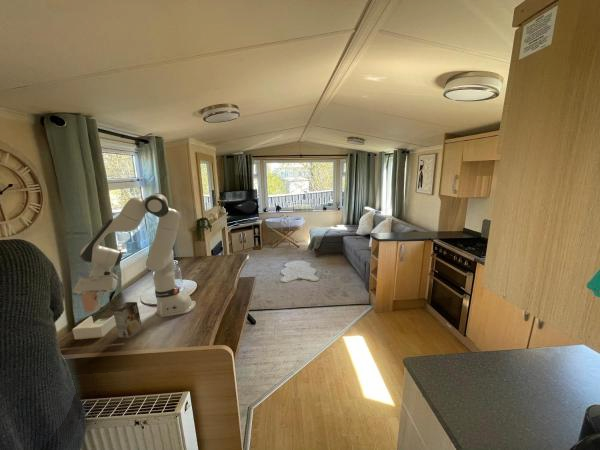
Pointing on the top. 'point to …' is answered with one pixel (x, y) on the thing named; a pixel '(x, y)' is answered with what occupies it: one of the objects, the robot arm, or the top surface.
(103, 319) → the panel
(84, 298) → the terracotta block
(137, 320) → the coffee box
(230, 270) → the top surface
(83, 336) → the tray
